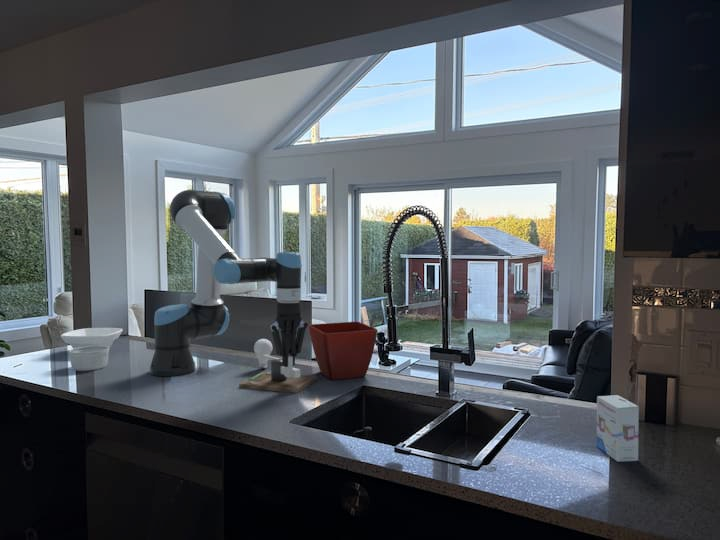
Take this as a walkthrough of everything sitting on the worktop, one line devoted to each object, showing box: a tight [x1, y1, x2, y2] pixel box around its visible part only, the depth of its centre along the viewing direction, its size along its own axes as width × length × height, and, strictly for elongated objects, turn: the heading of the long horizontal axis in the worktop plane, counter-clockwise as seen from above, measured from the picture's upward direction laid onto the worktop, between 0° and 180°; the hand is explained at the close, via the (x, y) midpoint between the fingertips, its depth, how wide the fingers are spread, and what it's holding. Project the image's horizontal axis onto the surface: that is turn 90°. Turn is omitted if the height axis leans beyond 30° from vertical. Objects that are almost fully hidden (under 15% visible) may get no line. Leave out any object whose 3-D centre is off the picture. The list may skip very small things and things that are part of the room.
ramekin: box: [68, 346, 110, 372], centre depth 188 cm, size 13×13×7 cm
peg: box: [263, 355, 301, 381], centre depth 166 cm, size 18×5×7 cm, turn 45°
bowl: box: [60, 327, 123, 349], centre depth 214 cm, size 21×21×9 cm
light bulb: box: [253, 338, 273, 370], centre depth 186 cm, size 7×7×11 cm
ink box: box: [596, 394, 640, 463], centre depth 111 cm, size 9×5×12 cm, turn 5°
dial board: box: [238, 371, 318, 394], centre depth 167 cm, size 20×17×2 cm
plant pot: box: [308, 321, 378, 381], centre depth 178 cm, size 19×19×17 cm
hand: (288, 376), depth 160 cm, fingers closed
